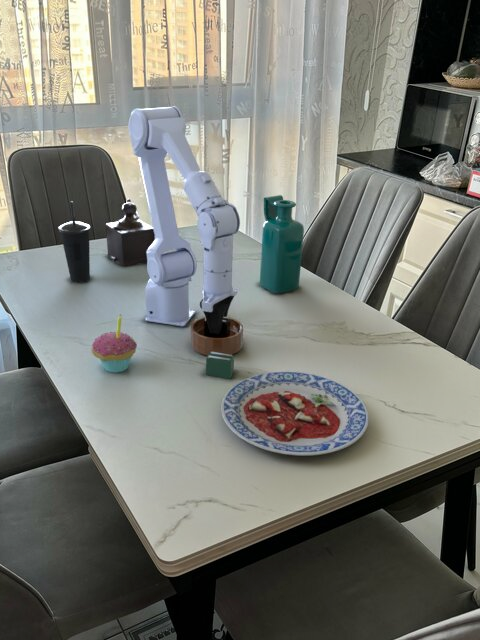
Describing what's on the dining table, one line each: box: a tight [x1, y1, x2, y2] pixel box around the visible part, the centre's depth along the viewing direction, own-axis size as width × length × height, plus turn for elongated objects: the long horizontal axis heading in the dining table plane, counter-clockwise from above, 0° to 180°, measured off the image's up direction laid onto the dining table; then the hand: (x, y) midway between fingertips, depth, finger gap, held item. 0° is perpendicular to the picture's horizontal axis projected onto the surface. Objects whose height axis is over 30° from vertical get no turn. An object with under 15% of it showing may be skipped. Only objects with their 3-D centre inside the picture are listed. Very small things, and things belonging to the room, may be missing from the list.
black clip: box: [204, 316, 230, 338], centre depth 126 cm, size 5×2×4 cm, turn 75°
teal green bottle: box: [259, 194, 305, 294], centre depth 152 cm, size 10×8×22 cm
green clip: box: [205, 352, 235, 380], centre depth 118 cm, size 5×2×4 cm, turn 75°
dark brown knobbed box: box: [105, 198, 155, 267], centre depth 165 cm, size 16×11×18 cm
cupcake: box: [91, 313, 137, 373], centre depth 117 cm, size 9×8×12 cm
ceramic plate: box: [220, 371, 370, 457], centre depth 106 cm, size 26×26×3 cm
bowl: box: [190, 316, 244, 357], centre depth 128 cm, size 11×11×4 cm
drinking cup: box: [58, 200, 91, 284], centre depth 152 cm, size 8×8×20 cm
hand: (216, 329), depth 127 cm, fingers closed on black clip, 2 cm apart
